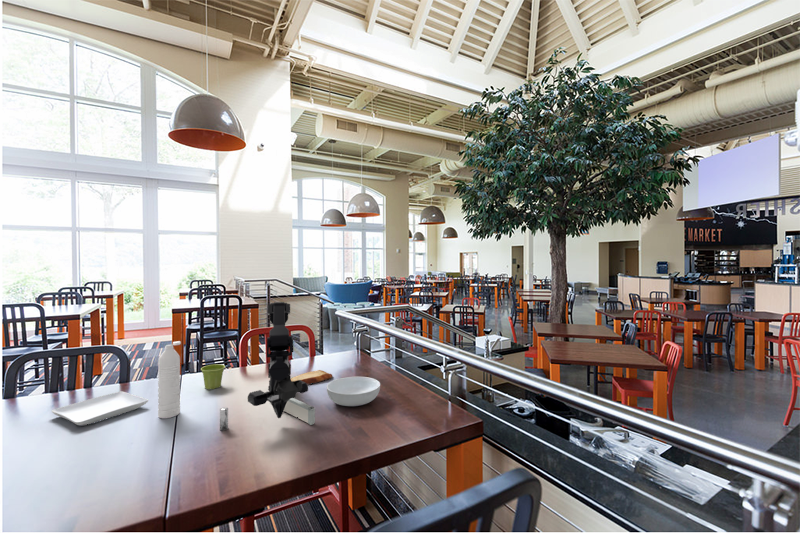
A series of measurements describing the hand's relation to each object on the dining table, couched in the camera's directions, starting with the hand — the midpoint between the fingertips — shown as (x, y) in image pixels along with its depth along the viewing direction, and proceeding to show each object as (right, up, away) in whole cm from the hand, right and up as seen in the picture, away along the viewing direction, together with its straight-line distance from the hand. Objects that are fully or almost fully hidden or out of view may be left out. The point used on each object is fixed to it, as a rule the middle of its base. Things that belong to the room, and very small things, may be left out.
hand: (279, 417), depth 116 cm
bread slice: (-1, -3, +45) cm, 45 cm away
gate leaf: (+5, -2, +6) cm, 8 cm away
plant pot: (-41, -3, +36) cm, 55 cm away
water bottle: (-42, -3, +9) cm, 43 cm away
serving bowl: (+22, -3, +20) cm, 30 cm away
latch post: (-17, -3, -3) cm, 17 cm away
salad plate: (-67, -3, +10) cm, 68 cm away
